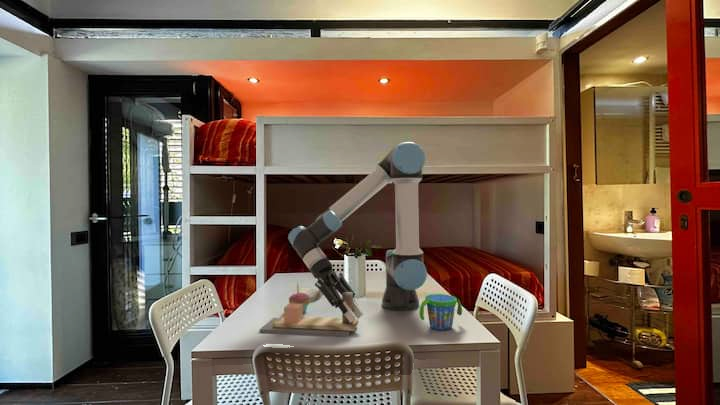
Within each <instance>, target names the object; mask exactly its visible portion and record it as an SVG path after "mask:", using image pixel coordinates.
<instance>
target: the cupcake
mask: <svg viewBox="0 0 720 405" xmlns="http://www.w3.org/2000/svg"><path fill="white" fill-rule="evenodd" d="M299 289H300V288H299V282H298V281H297V282H296V292H297V293H293V294H292V295H290V296H289V297H288V304H303V313H305V312H307V309H308V305H309V304H310V303H311V299H310V297H309V296H308V295H307V294H305V293H299V291H300V290H299Z"/></svg>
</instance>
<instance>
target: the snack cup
mask: <svg viewBox="0 0 720 405" xmlns="http://www.w3.org/2000/svg"><path fill="white" fill-rule="evenodd" d="M456 305H457V309H456V314H457V315H458V316H462V313H463V307H462V303H461V301H460V299H458V298H457V297H456V296H454V295H451V294H443V293H432V294H427V295H426V296H425V299H424V300H423V301H422V302H421V304H420V305H419V314H418V315H419V318H420V320H422V321H424V320H425V317H424V316H425V315H424V314H425V312H424V311H425V308H424V307H425V306H426V307H427V309H426V310H427V318H428V322H429V323H428V324H429V326H430V328H432V329H435V330H438V331H445V330H450V329H452V326H453V325H454V316H455V307H456Z"/></svg>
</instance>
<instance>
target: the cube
mask: <svg viewBox="0 0 720 405" xmlns="http://www.w3.org/2000/svg"><path fill="white" fill-rule="evenodd" d="M283 316H284V322H288V323H299V322H300V321H301V320H302V319H303V317H304V312H303V304H290V303H288V304H287V305H285V306H284V307H283Z"/></svg>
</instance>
